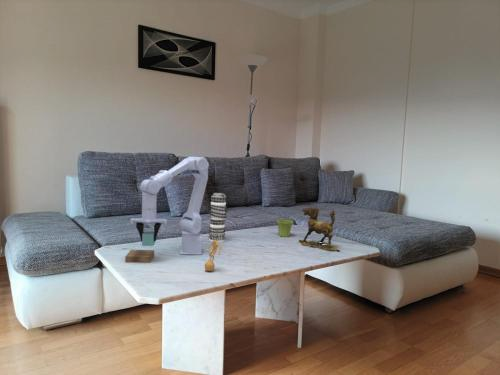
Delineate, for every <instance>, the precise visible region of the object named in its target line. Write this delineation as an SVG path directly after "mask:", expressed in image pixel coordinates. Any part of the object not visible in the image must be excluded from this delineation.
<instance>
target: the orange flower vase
mask: <svg viewBox="0 0 500 375" xmlns="http://www.w3.org/2000/svg"><path fill="white" fill-rule="evenodd" d="M211 246H212V248H211V250H210V251H209V253H208V256H209V257H210V258H209V259H208V260H207V261H206V262H205V263H204V269H205V270H206V271H208V272H212V271H213V270H214V269H215V268H216V267H215V266H216V265H215V263H214V259H215V255H216V253H218V255H219V256H220V255H221V249H222V247H221V245H220V242H217V241H213V242H212V243H210V244H209V245H208V246H207V248H206V249H205V251H207V250H208V249H209V248H210V247H211ZM218 248H219V252H217V249H218Z"/></svg>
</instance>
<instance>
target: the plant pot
mask: <svg viewBox="0 0 500 375" xmlns="http://www.w3.org/2000/svg"><path fill="white" fill-rule="evenodd" d="M276 222H277V228H278V230H277V231H278V237H282V238H288V237H290V235H291V229H292V226H293V224H294V221H293V220H291V219H290V220H288V219H277V220H276Z"/></svg>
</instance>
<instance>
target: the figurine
mask: <svg viewBox="0 0 500 375" xmlns="http://www.w3.org/2000/svg"><path fill="white" fill-rule="evenodd" d="M302 212H303V215H304V216H308V217H309V219H308V221H307V226H308V228H307V229H308V231H307V233H306V235H305V236H304V238H303V239H298V243H300V244H301V245H302V246H305V247H309V248H314V249H316V248H317V249H319V250H323V251H327V252H337V253H338V252H340V250H341V249H340V248H339V247H335V246H332V239H333V237H334V235H333V234H332V232H333V231H334V224H335V220H336V218H335V214H336V211H335V210H334V209H332V210H331V212H330V213H329V215H330V220H331V222H328V221H319V220H318V216H319V213H320V210H319V208H317V206H314V207H311V206H310V207H307V208H302ZM313 232H315V233H316V234H317V235H323V237H322V238H321V239H320V241H318V242H315V241H311V240H310V241H308V240H307V239H308V237H309V236H310V235H311V234H312V233H313ZM326 238H328V242H324V241H325V239H326ZM319 242H322V243H319ZM322 244H327V245H322ZM338 249H339V250H338Z"/></svg>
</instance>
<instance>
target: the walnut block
mask: <svg viewBox="0 0 500 375" xmlns="http://www.w3.org/2000/svg"><path fill="white" fill-rule="evenodd" d="M154 257H155V249H130V250H129V252H128V253H127V254H126V255H125V260H124V261H125V263H129V264H130V263H131V264H132V263H135V264H136V263H139V264H140V263H142V264H143V263H145V264H146V263H148V264H150V263H152V260H153V259H154Z"/></svg>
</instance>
